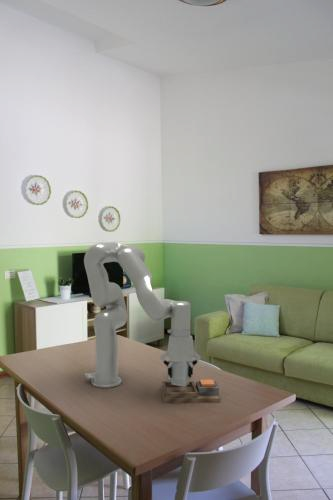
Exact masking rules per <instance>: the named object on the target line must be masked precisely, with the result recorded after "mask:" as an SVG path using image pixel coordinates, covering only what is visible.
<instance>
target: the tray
mask: <svg viewBox="0 0 333 500" xmlns="http://www.w3.org/2000/svg"><path fill="white" fill-rule="evenodd" d="M213 382H214V384H215V387H201V386H200V380H195V381H194V380H189V384H188V385H187V386H185V387H183V386H177V385H172V380H165V381H164V380H162V382H161V383H162V385H160V390H161V397H162V403H163V404H180V403H181V404H182V403H185V404H187V403H189V404H191V403H193V404H194V403H195V404H196V403H197V404H199V403H200V404H201V403H221V397H220V387H219V385H218V384H217V382H216V380H213Z"/></svg>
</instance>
